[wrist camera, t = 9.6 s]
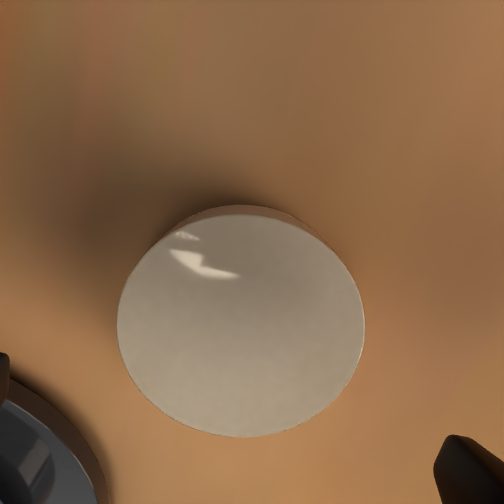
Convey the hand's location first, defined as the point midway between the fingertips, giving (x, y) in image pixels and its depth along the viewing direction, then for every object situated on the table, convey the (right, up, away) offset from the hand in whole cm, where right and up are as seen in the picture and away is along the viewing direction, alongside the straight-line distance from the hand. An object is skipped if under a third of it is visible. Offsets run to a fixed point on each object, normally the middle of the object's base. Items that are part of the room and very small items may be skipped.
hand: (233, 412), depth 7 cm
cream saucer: (0, +1, +5) cm, 5 cm away
